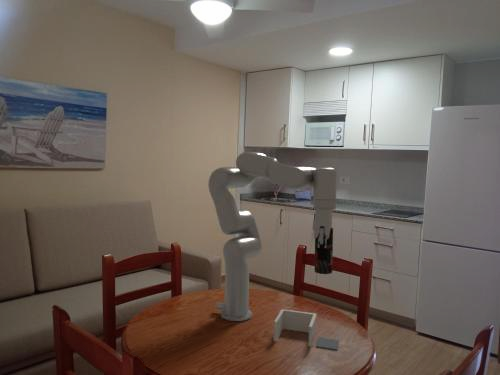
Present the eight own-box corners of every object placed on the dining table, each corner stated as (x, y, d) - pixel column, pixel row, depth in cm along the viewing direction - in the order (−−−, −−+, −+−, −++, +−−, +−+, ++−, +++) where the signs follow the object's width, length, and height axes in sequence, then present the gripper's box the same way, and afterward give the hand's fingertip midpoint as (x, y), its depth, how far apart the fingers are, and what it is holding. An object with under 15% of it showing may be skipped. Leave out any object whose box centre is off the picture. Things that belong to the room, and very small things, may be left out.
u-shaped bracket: (273, 341, 135) (274, 321, 135) (281, 327, 147) (281, 309, 146) (311, 347, 131) (311, 326, 131) (316, 332, 143) (316, 313, 142)
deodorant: (332, 274, 129) (332, 229, 128) (314, 273, 130) (314, 228, 129) (332, 270, 135) (333, 226, 134) (314, 268, 136) (315, 226, 135)
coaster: (316, 347, 131) (316, 345, 131) (318, 338, 138) (318, 337, 138) (337, 350, 129) (337, 349, 129) (338, 341, 136) (338, 340, 136)
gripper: (316, 201, 141) (316, 251, 142) (309, 206, 124) (308, 262, 125) (338, 202, 138) (337, 253, 139) (333, 207, 122) (332, 264, 123)
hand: (323, 256), depth 132 cm, fingers closed on deodorant, 5 cm apart
